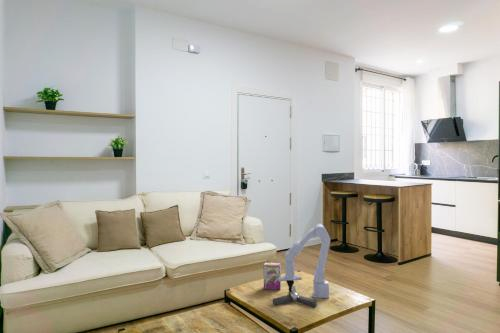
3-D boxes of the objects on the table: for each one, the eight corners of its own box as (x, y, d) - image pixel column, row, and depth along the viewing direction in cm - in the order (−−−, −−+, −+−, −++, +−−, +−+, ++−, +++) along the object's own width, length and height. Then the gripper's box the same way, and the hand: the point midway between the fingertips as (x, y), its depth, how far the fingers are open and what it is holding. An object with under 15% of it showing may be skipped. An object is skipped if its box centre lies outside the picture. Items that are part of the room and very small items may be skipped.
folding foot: (296, 297, 202) (296, 293, 202) (292, 297, 202) (292, 293, 202) (294, 290, 213) (294, 286, 213) (290, 290, 213) (290, 286, 213)
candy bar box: (263, 289, 217) (263, 264, 216) (264, 286, 221) (264, 262, 221) (280, 290, 214) (280, 265, 214) (281, 287, 219) (280, 262, 219)
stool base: (316, 299, 199) (316, 292, 199) (317, 307, 189) (317, 300, 188) (274, 297, 203) (273, 290, 203) (272, 305, 193) (272, 298, 192)
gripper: (299, 267, 212) (299, 288, 213) (277, 269, 210) (277, 289, 211) (302, 271, 206) (302, 292, 206) (279, 272, 203) (280, 294, 204)
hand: (290, 291), depth 208 cm, fingers closed, pressing on folding foot
